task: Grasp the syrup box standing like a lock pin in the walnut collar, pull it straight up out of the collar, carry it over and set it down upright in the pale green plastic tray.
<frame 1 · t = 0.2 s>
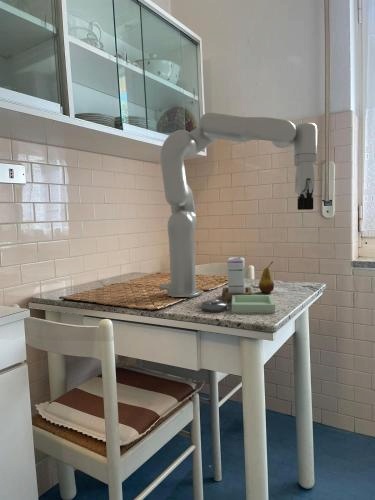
hand: (305, 209, 134), 31 cm above the table, fingers open, 9 cm apart
tray: (252, 307, 122), on the table
syrup box: (236, 299, 134), resting in collar
fruit: (266, 293, 143), on the table
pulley: (214, 309, 120), on the table
collar: (236, 298, 134), on the table
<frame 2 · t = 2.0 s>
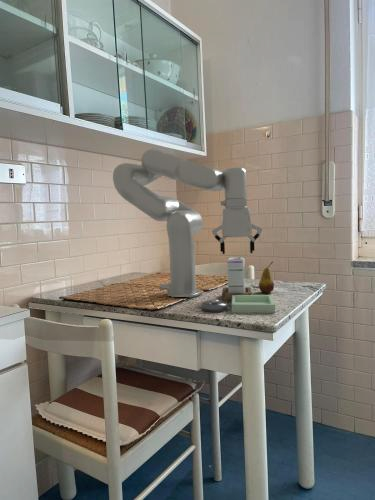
hand: (237, 253, 132), 16 cm above the table, fingers open, 9 cm apart
nothing on the table moved.
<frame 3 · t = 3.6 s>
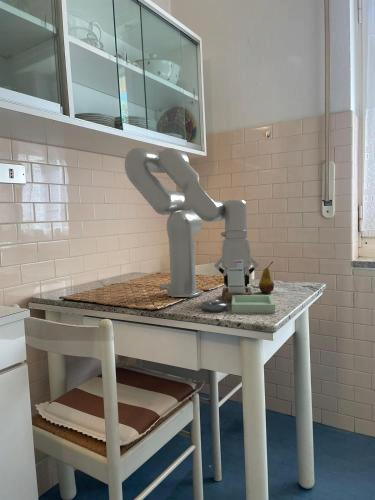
hand: (236, 285, 134), 5 cm above the table, fingers closed on syrup box, 6 cm apart
syrup box: (236, 299, 134), resting in collar, touching gripper
everything else where it was.
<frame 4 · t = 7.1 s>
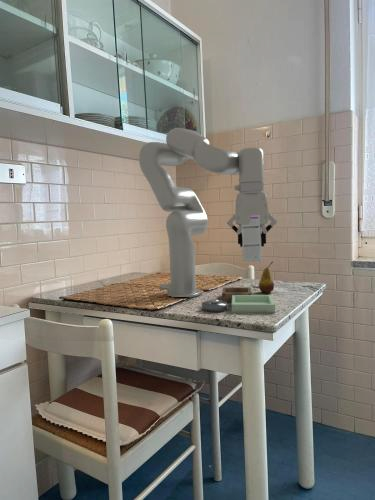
hand: (251, 245, 120), 20 cm above the table, fingers closed on syrup box, 6 cm apart
syrup box: (252, 260, 120), point 15 cm above the table, touching gripper
everything else where it was.
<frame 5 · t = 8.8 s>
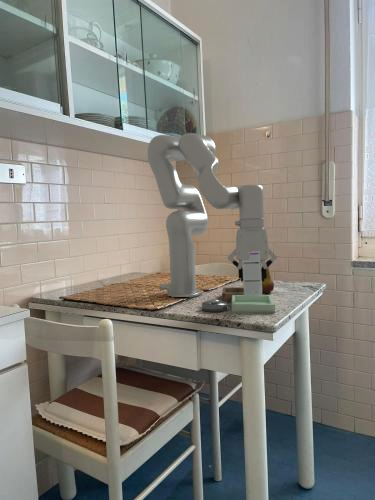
hand: (252, 280, 121), 9 cm above the table, fingers closed on syrup box, 6 cm apart
syrup box: (252, 295, 121), point 4 cm above the table, touching gripper
everything else where it was.
when the fingers open (7 cm above the table, at t = 10.1 s): syrup box drops 2 cm, resting on tray.
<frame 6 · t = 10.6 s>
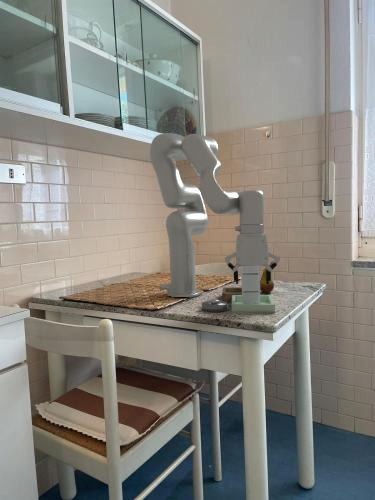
hand: (252, 283, 121), 8 cm above the table, fingers open, 9 cm apart
syrup box: (250, 305, 122), resting on tray
everything else where it was.
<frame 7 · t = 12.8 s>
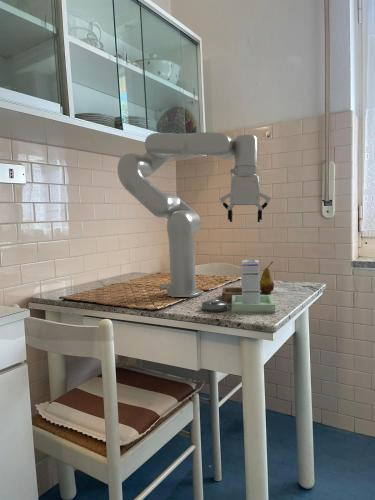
hand: (244, 221, 132), 27 cm above the table, fingers open, 9 cm apart
nothing on the table moved.
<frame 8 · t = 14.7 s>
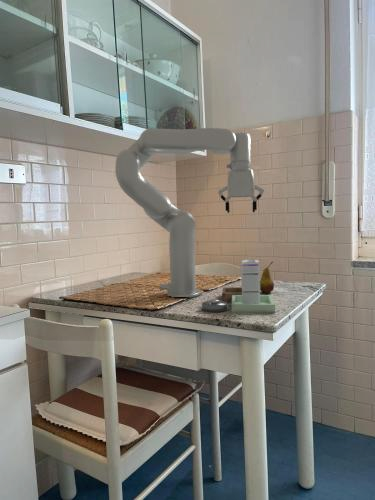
hand: (241, 212, 145), 30 cm above the table, fingers open, 9 cm apart
nothing on the table moved.
at the end: syrup box inside the target area on the tray (0.5 cm from its centre), point 0.4 cm above the tray's base; syrup box tilted 0°; the gripper is holding nothing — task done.
